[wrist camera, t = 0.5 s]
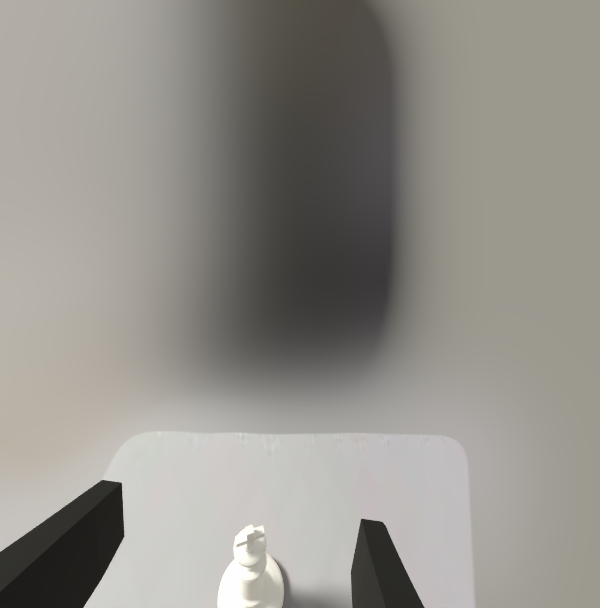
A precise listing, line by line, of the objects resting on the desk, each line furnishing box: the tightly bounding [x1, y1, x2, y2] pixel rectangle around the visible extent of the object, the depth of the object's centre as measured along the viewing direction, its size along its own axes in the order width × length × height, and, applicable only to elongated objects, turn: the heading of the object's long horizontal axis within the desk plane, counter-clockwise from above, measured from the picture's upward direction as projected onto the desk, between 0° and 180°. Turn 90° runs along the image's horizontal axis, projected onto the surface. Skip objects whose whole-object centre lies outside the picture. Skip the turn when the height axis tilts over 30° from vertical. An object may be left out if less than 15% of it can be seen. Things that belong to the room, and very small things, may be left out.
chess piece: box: [218, 525, 284, 608], centre depth 19 cm, size 5×5×10 cm
